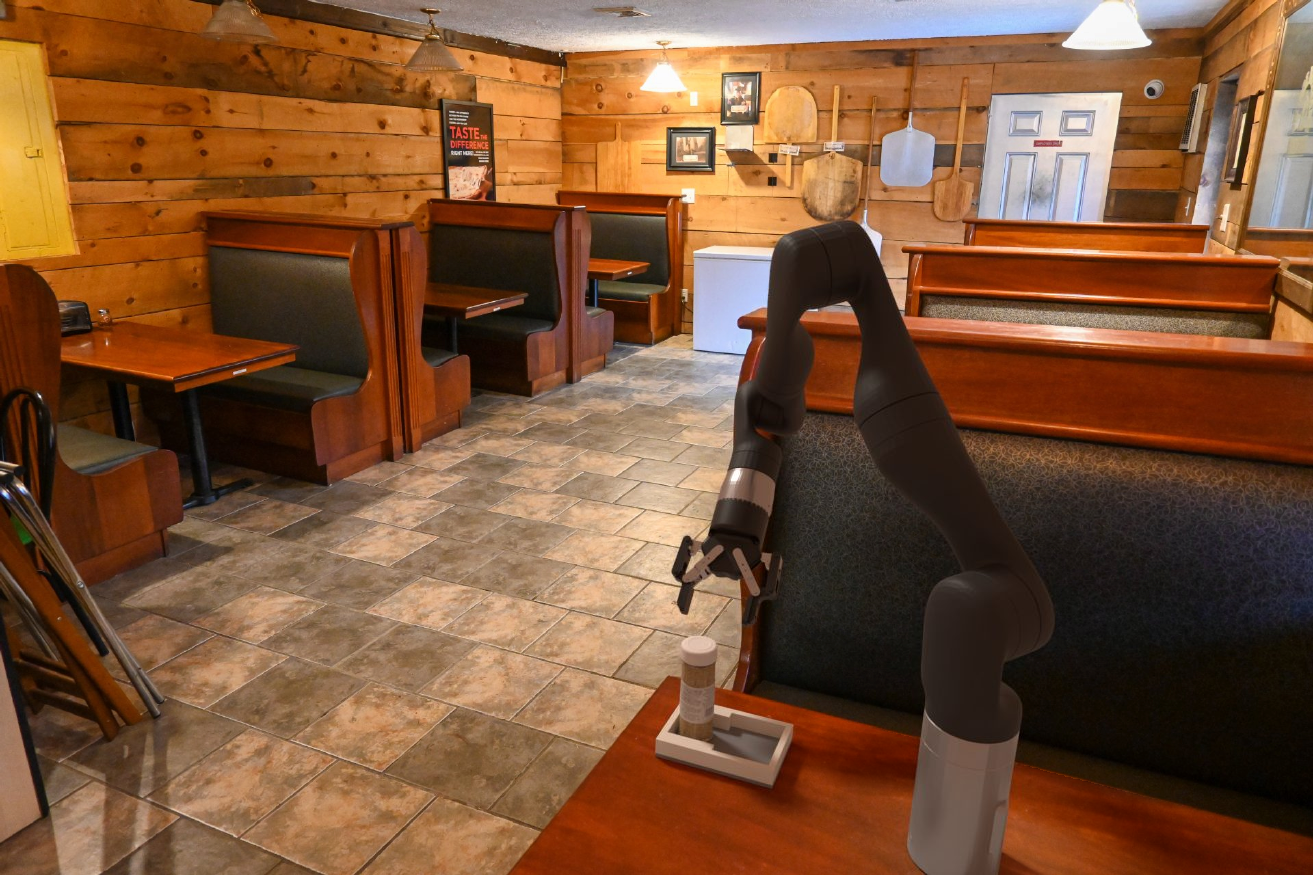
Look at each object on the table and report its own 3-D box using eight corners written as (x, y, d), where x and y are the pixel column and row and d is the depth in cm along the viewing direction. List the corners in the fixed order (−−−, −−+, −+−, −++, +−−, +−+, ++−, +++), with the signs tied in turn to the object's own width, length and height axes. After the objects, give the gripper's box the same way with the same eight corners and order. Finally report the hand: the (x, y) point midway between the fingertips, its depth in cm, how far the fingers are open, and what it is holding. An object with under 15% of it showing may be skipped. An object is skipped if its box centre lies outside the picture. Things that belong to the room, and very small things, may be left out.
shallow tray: (792, 741, 111) (793, 724, 111) (772, 788, 103) (773, 770, 102) (683, 712, 117) (683, 696, 116) (655, 756, 108) (655, 738, 107)
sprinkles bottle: (696, 721, 114) (700, 630, 110) (720, 738, 111) (725, 645, 107) (670, 734, 111) (673, 641, 108) (694, 752, 108) (698, 656, 104)
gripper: (689, 488, 119) (656, 599, 112) (790, 504, 114) (762, 621, 107) (700, 511, 125) (669, 617, 118) (796, 527, 120) (771, 639, 113)
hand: (713, 619), depth 112 cm, fingers open, 8 cm apart
